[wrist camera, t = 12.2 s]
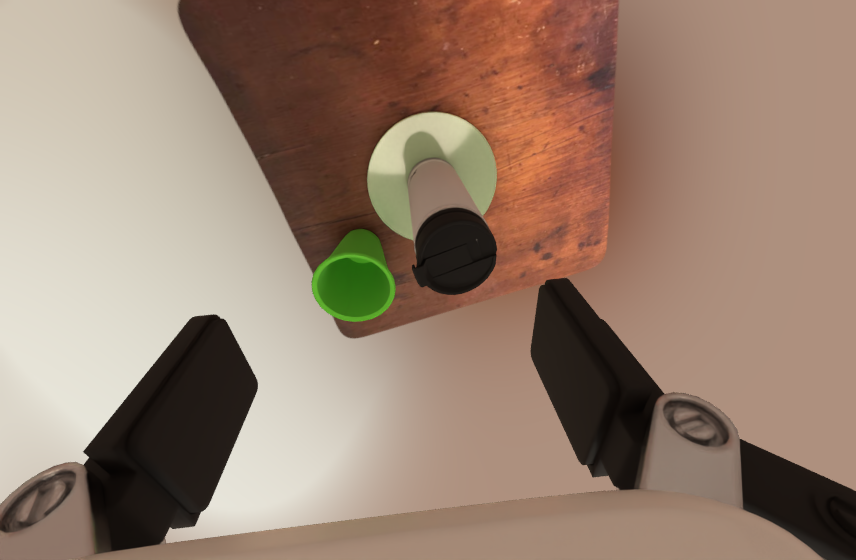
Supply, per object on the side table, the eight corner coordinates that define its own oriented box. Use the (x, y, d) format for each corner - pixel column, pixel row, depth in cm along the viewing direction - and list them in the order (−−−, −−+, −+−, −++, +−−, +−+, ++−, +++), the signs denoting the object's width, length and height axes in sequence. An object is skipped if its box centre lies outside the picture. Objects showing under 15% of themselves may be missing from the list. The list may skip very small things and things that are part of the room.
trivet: (358, 115, 37) (357, 116, 36) (499, 106, 38) (501, 107, 37) (376, 244, 46) (376, 247, 45) (491, 234, 46) (493, 238, 46)
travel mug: (396, 169, 40) (398, 244, 23) (449, 148, 39) (491, 210, 22) (415, 215, 43) (428, 310, 26) (463, 197, 42) (509, 283, 25)
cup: (404, 226, 45) (406, 267, 35) (383, 280, 49) (381, 329, 40) (337, 204, 42) (321, 242, 33) (321, 263, 47) (303, 311, 37)
